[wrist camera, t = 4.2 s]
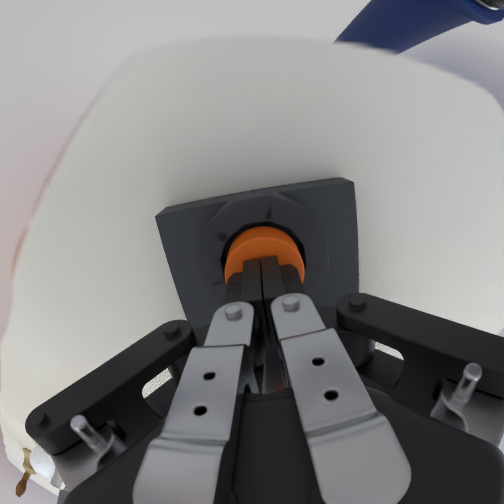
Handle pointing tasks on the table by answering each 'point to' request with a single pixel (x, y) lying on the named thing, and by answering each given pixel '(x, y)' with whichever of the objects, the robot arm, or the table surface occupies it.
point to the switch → (263, 249)
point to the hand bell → (29, 470)
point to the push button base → (254, 215)
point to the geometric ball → (42, 463)
